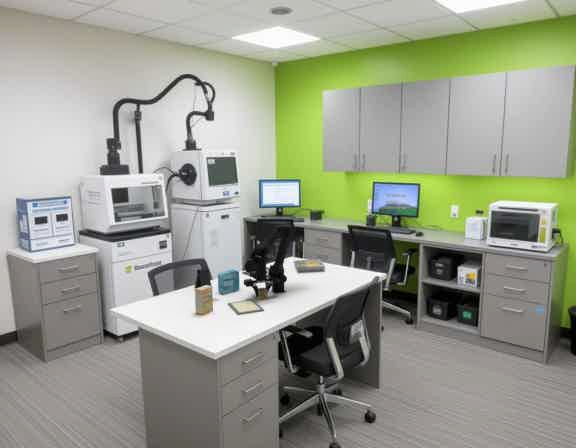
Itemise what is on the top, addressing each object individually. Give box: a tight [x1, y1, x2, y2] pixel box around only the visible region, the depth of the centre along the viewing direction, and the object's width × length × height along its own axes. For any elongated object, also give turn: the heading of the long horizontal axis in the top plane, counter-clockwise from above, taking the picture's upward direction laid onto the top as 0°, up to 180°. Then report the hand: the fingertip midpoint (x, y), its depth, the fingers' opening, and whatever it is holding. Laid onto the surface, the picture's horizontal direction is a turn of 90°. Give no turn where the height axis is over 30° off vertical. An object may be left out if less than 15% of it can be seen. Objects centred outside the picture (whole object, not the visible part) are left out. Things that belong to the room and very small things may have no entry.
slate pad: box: [227, 299, 265, 316], centre depth 236 cm, size 14×18×1 cm
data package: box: [217, 269, 240, 295], centre depth 263 cm, size 12×4×12 cm, turn 133°
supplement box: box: [194, 285, 214, 316], centre depth 229 cm, size 8×5×13 cm, turn 148°
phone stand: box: [194, 267, 212, 289], centre depth 270 cm, size 9×6×12 cm, turn 49°
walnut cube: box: [255, 287, 268, 301], centre depth 251 cm, size 5×5×5 cm
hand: (261, 296), depth 251 cm, fingers closed on walnut cube, 5 cm apart
